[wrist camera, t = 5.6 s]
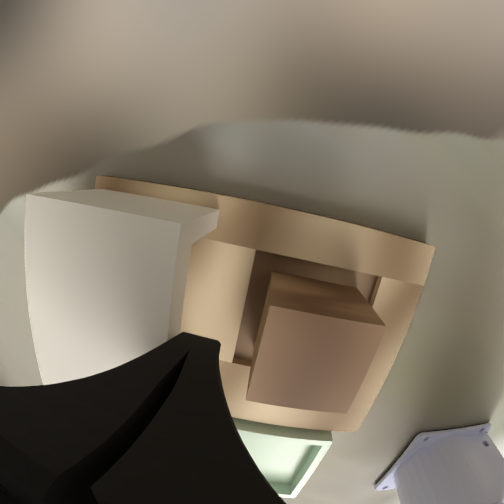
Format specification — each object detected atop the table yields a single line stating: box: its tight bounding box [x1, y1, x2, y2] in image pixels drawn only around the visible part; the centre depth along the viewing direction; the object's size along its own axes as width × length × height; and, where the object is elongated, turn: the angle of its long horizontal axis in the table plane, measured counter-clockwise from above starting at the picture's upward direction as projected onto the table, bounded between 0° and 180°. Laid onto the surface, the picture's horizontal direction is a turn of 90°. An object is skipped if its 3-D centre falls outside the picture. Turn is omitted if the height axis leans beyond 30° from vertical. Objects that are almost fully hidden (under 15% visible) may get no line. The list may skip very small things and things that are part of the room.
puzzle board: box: [94, 176, 435, 432], centre depth 14 cm, size 17×12×1 cm
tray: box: [232, 417, 333, 498], centre depth 16 cm, size 8×8×2 cm
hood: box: [25, 189, 220, 385], centre depth 11 cm, size 6×9×5 cm
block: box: [246, 270, 386, 414], centre depth 12 cm, size 4×4×4 cm
